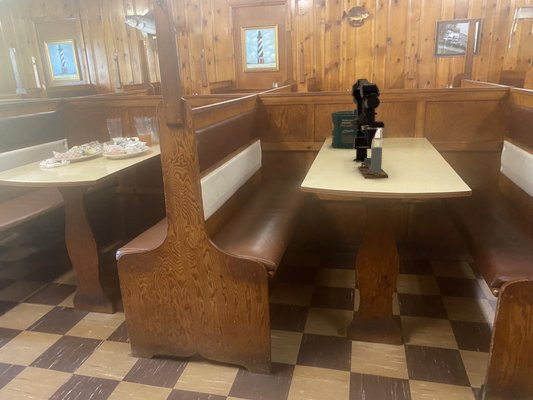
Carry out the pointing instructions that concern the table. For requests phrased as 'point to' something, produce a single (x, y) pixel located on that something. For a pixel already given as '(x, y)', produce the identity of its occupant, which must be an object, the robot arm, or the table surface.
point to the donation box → (343, 129)
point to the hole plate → (368, 167)
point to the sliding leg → (376, 160)
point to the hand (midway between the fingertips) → (369, 144)
